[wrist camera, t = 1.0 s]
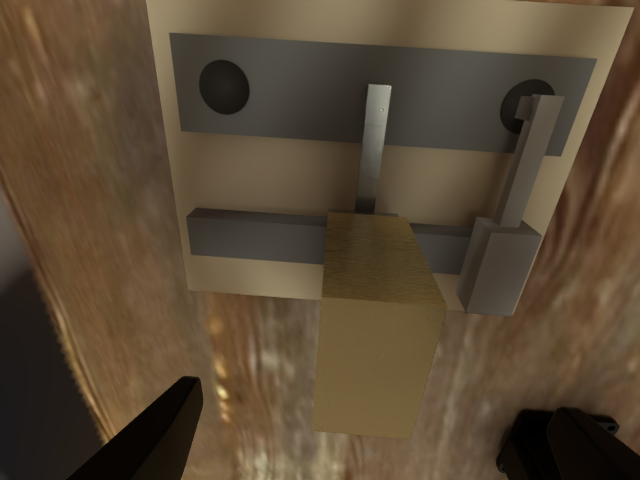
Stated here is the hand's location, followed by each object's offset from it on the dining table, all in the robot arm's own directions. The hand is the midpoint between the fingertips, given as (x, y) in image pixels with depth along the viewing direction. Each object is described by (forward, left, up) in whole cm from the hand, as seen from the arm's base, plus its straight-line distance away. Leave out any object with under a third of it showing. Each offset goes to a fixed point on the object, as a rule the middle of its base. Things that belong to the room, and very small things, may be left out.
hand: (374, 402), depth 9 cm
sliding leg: (0, -2, -9) cm, 9 cm away
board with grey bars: (0, -3, -10) cm, 11 cm away
